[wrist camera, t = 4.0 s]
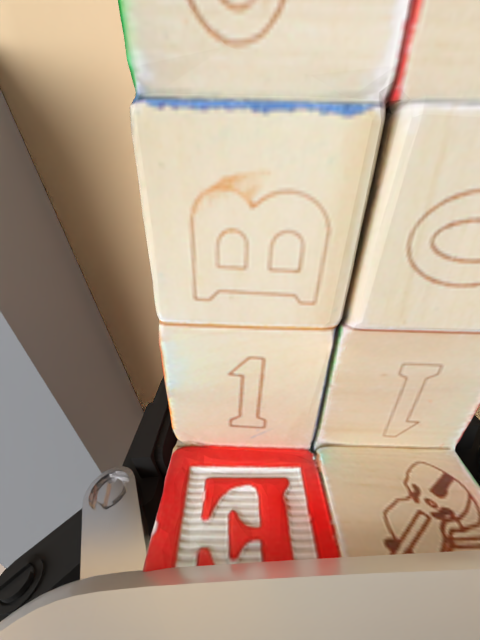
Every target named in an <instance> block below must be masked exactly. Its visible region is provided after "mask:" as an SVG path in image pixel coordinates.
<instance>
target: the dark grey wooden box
mask: <svg viewBox="0 0 480 640" xmlns="http://www.w3.org/2000/svg"><path fill="white" fill-rule="evenodd" d="M143 414H144V411H143V409H142V407H141V405H140V402H139V400H138V398H137V396H136V393H135V391H134V389H133V387H132V384H131V382H130V380H129V378H128V375H127V373H126V371H125V369H124V366H123V364H122V362H121V360H120V357H119V355H118V353H117V351H116V348H115V346H114V344H113V342H112V339H111V337H110V335H109V333H108V330H107V328H106V326H105V324H104V321H103V319H102V317H101V315H100V312H99V310H98V308H97V306H96V303H95V301H94V299H93V297H92V294H91V292H90V290H89V288H88V285H87V283H86V281H85V279H84V276H83V274H82V272H81V270H80V267H79V265H78V263H77V260H76V258H75V256H74V254H73V251H72V249H71V247H70V245H69V242H68V240H67V238H66V236H65V233H64V231H63V229H62V227H61V224H60V222H59V220H58V218H57V215H56V213H55V211H54V209H53V206H52V204H51V202H50V200H49V197H48V195H47V193H46V191H45V188H44V186H43V184H42V182H41V179H40V177H39V175H38V173H37V170H36V168H35V166H34V164H33V161H32V159H31V157H30V155H29V152H28V150H27V148H26V146H25V143H24V141H23V139H22V137H21V134H20V132H19V130H18V128H17V125H16V123H15V121H14V119H13V116H12V114H11V112H10V110H9V107H8V105H7V103H6V100H5V98H4V96H3V94H2V91H1V89H0V564H2V565H3V566H4V567H5V568H6V569H7V568H8V567H9V566H10V565H11V564H12V563H13V562H14V561H15V560H17V559H18V558H19V557H20V556H22V555H23V554H24V553H26V552H27V551H28V550H29V549H31V548H32V547H33V546H34V545H36V544H37V543H38V542H40V541H41V540H42V539H43V538H45V537H46V536H47V535H49V534H50V533H51V532H52V531H54V530H55V529H56V528H57V527H59V526H60V525H61V524H63V523H64V522H65V521H66V520H68V519H69V518H70V517H71V516H73V515H74V514H75V513H77V512H78V511H79V510H80V509H82V503H83V498H84V495H85V493H86V491H87V489H88V487H89V486H90V484H91V483H92V482H93V481H94V480H95V479H96V478H97V477H98V476H99V475H100V474H102V473H103V472H105V471H107V470H108V469H111V468H114V467H119V466H122V465H123V462H124V460H125V458H126V455H127V453H128V450H129V448H130V446H131V443H132V441H133V438H134V436H135V434H136V431H137V429H138V426H139V424H140V422H141V419H142V417H143Z"/></svg>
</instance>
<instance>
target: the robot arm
mask: <svg viewBox="0 0 480 640" xmlns="http://www.w3.org/2000/svg"><path fill="white" fill-rule="evenodd" d="M177 440H178V439H177V438H176V436H175V433H174V431H173V429H172V424H171V417H170V410H169V404H168V398H167V392H166V386H165V380H164V376H163V378H162V381H161V383H160V386H159V389H158V391H157V394H156V396H155V399H154V401H153V402H152V403H149V404H148V406H147V407H146V410H145V412H144V414H143V417H142V419H141V422H140V424H139V426H138V429H137V431H136V434H135V436H134V438H133V441H132V443H131V446H130V448H129V450H128V453H127V455H126V458H125V460H124V462H123V465H122V466H119V467H114V468H111V469H108V470H107V471H105V472H103V473H102V474H100V475H99V476H98V477H97V478H96V479H95V480H94V481H93V482H92V483H91V484H90V486H89V487H88V489H87V491H86V493H85V495H84V498H83V503H82V509H80V510H79V511H78V512H77V513H75V514H74V515H73V516H71V517H70V518H69V519H68V520H66V521H65V522H64V523H63V524H61V525H60V526H59V527H57V528H56V529H55V530H54V531H52V532H51V533H50V534H49V535H47V536H46V537H45V538H43V539H42V540H41V541H40V542H38V543H37V544H36V545H34V546H33V547H32V548H31V549H29V550H28V551H27V552H26V553H24V554H23V555H22V556H20V557H19V558H18V559H17V560H15V561H14V562H13V563H12V564H11V565H10V566H9V567H8V568H7V569H6V570H5V571H4V572H3V573H2V574H1V576H0V640H480V550H473V551H454V552H434V553H415V554H396V555H376V556H358V557H341V558H323V559H306V560H288V561H271V562H255V563H239V564H223V565H207V566H191V567H175V568H165V569H160V570H154V571H148V572H143V567H144V563H145V558H146V555H147V551H148V547H149V543H150V538H151V533H152V530H153V527H154V524H155V520H156V516H157V512H158V509H159V505H160V501H161V497H162V493H163V488H164V482H165V477H166V474H167V470H168V467H169V464H170V460H171V456H172V452H173V448H174V447H175V445H176V443H177ZM455 452H456V453H457V455H458V456H459V458H460V459H461V460H462V462H463V463H464V465H465V466H466V467H467V469H468V470H469V472H470V473H471V474H472V476H473V477H474V479H475V480H476V482H477V483H478V484H479V486H480V420H479V419H478V418H477V417H476V416H475V415H474V416H473V418H472V420H471V422H470V423H469V425H468V427H467V428H466V430H465V432H464V434H463V436H462V437H461V439H460V441H459V442H458V443H457V445H456V448H455Z"/></svg>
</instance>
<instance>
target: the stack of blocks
mask: <svg viewBox="0 0 480 640" xmlns="http://www.w3.org/2000/svg"><path fill="white" fill-rule="evenodd" d="M118 3H119V10H120V17H121V22H122V28H123V33H124V39H125V47H126V55H127V61H128V65H129V68H130V72H131V76H132V79H133V83H134V87H135V90H136V96H135V99H134V100H133V102H132V104H131V106H130V116H131V130H132V139H133V146H134V153H135V159H136V166H137V174H138V181H139V189H140V197H141V205H142V212H143V220H144V226H145V233H146V240H147V247H148V253H149V260H150V267H151V273H152V280H153V290H154V300H155V307H156V313H157V316H158V318H159V347H160V351H161V359H162V367H163V374H164V380H165V386H166V392H167V398H168V404H169V410H170V417H171V424H172V429H173V431H174V433H175V436H176V438H177V439H178V440H177V443H176V445H175V447H174V448H173V452H172V456H171V460H170V464H169V467H168V470H167V474H166V477H165V482H164V488H163V493H162V497H161V501H160V505H159V509H158V512H157V516H156V520H155V524H154V527H153V530H152V533H151V538H150V543H149V547H148V551H147V555H146V558H145V563H144V567H143V572H148V571H154V570H160V569H165V568H175V567H191V566H207V565H223V564H239V563H255V562H271V561H288V560H306V559H323V558H341V557H358V556H376V555H396V554H415V553H434V552H454V551H473V550H480V486H479V484H478V483H477V482H476V480H475V479H474V477H473V476H472V474H471V473H470V472H469V470H468V469H467V467H466V466H465V465H464V463H463V462H462V460H461V459H460V458H459V456H458V455H457V453H456V452H455V448H456V445H457V443H458V442H459V441H460V439H461V437H462V436H463V434H464V432H465V430H466V428H467V427H468V425H469V423H470V422H471V420H472V418H473V416H474V415H475V413H476V411H477V409H478V407H479V405H480V0H118Z"/></svg>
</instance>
